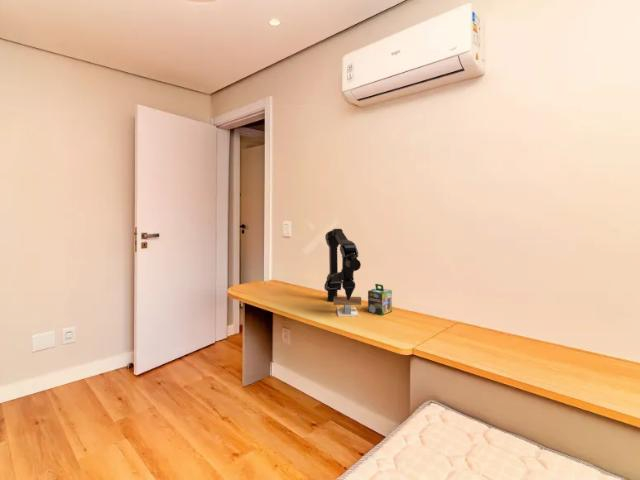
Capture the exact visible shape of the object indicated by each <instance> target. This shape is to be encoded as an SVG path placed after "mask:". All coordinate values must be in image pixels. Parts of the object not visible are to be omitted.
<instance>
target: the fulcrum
mask: <svg viewBox="0 0 640 480" xmlns="http://www.w3.org/2000/svg"><path fill="white" fill-rule="evenodd" d="M336 311H337V317H359V313H358V309H357V307H352V305H343V306H341V307H339V306H338V307H337V308H336Z"/></svg>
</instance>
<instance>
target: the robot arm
mask: <svg viewBox="0 0 640 480" xmlns="http://www.w3.org/2000/svg"><path fill="white" fill-rule="evenodd" d="M324 236H325V238H324V239H325V242H326V244H327V246H328V250H329V254H328V255H329V257H328V258H329V262H328V263H329V273H328V274H327V276H326V281H325V283H324V285H323V287H324V290H325V291H326V292H327V297H326V302H334V297H338V291H341V289H343V290H344V292H345V297H347V300H349V299H350V297H352V295H353V292H354V290H355V288H356V283H355V280H354V279H355V278H354V273H355V272H356V271H359V270H360V269H361V267H362V264H361V261H360V260H359V259H358V258H359V251H358V248H357V245H356V243H354V242H353V240H349V239H348V237H347V236H346V235H345V233H344V232H343V229H342V228H333V229H332V230H329V231H328V232H326V234H325V235H324ZM338 247H339V251H340V254H341V260H342V263H341V266H342V267H341V271H338V265H339V264H338Z"/></svg>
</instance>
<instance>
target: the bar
mask: <svg viewBox="0 0 640 480" xmlns="http://www.w3.org/2000/svg"><path fill="white" fill-rule="evenodd" d="M339 305H340V306H344V305H351V306H362V297H361V296H351V297H350V299H349V300H347V297H346V296H337V297H334V301H333V306H339Z"/></svg>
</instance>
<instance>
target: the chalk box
mask: <svg viewBox="0 0 640 480" xmlns="http://www.w3.org/2000/svg"><path fill="white" fill-rule="evenodd" d="M374 286H375V288H372V289H370V290H368V291H367V307H368V308H367V312H368V313H373V314H376V315H380V316H384V315H387V314H389V313H392V311H393V304H392V303H393V301H392V300H393V299H392V298H393V290H392V289H387V288H384V285H383V284H380V283H375V284H374Z"/></svg>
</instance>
